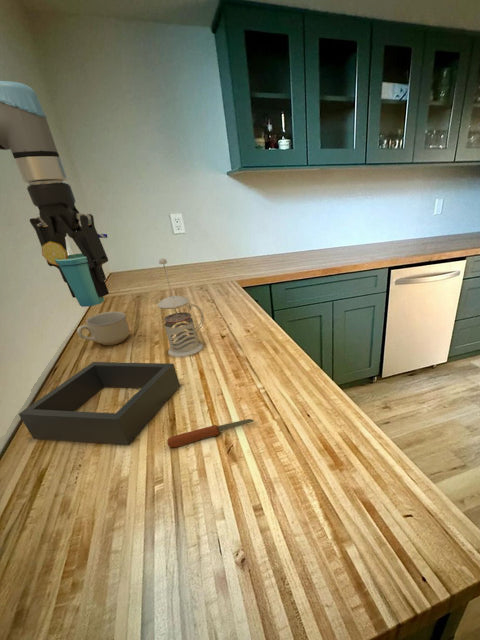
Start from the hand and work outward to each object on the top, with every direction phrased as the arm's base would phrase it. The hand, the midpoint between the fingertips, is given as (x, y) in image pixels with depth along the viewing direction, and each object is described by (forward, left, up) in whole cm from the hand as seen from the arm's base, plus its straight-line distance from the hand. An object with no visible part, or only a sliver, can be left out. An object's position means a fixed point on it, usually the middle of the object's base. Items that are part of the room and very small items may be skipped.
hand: (91, 295), depth 79 cm
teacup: (-14, +15, -20) cm, 28 cm away
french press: (+14, +12, -20) cm, 27 cm away
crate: (+11, -18, -19) cm, 29 cm away
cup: (+1, 0, -2) cm, 2 cm away
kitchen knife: (+36, -24, -20) cm, 48 cm away
